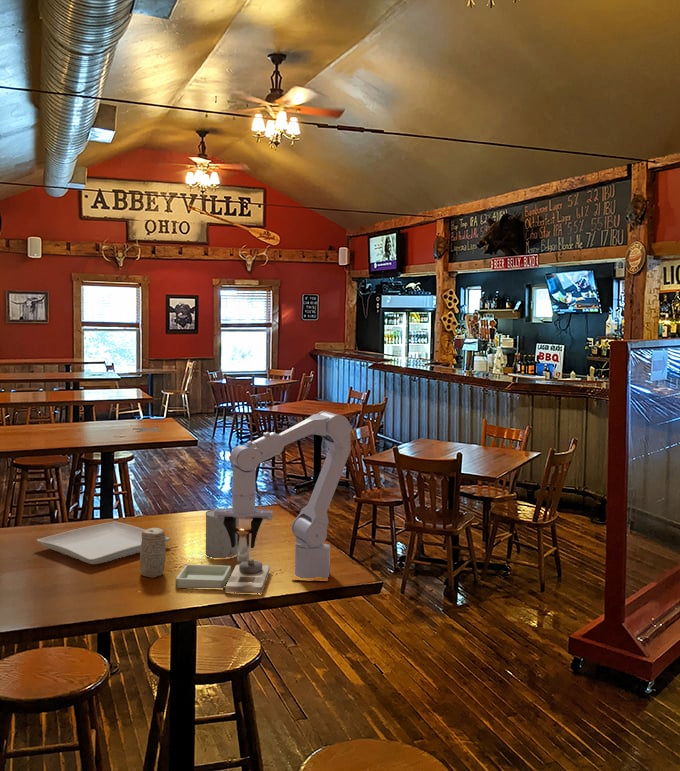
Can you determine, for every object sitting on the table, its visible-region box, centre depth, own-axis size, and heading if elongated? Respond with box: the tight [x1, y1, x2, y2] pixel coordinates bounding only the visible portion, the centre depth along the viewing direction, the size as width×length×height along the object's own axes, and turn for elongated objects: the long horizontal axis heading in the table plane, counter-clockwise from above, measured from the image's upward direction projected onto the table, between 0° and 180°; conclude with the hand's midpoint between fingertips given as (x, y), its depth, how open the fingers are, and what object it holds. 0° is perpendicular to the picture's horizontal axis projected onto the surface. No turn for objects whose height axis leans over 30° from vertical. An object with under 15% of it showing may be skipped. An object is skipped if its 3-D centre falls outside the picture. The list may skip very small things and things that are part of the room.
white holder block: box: [224, 558, 271, 594], centre depth 189 cm, size 9×16×5 cm, turn 178°
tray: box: [175, 563, 232, 590], centre depth 189 cm, size 12×11×2 cm
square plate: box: [36, 520, 171, 565], centre depth 214 cm, size 27×27×4 cm
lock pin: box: [235, 526, 251, 563], centre depth 186 cm, size 4×4×8 cm
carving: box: [139, 527, 167, 579], centre depth 193 cm, size 6×8×12 cm
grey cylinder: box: [205, 507, 240, 558], centre depth 211 cm, size 10×10×12 cm
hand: (243, 546), depth 186 cm, fingers closed on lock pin, 4 cm apart
